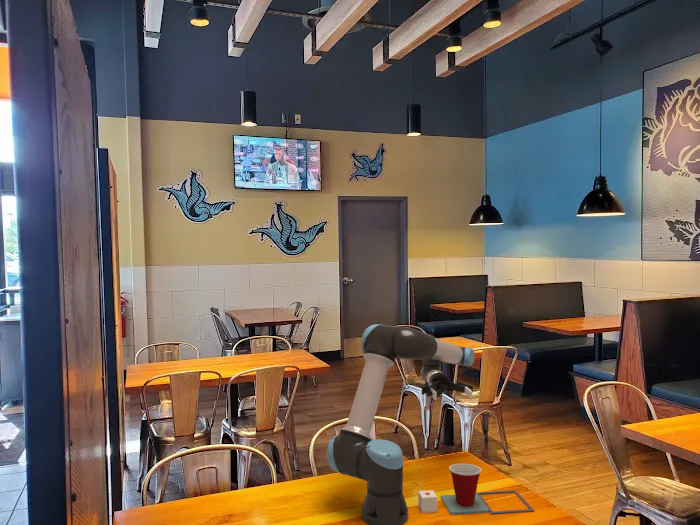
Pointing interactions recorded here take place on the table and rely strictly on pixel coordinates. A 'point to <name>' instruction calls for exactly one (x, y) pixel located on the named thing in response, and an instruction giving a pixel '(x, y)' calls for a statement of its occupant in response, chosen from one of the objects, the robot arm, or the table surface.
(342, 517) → the table surface
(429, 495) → the die
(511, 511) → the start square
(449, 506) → the pad
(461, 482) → the plastic cup
